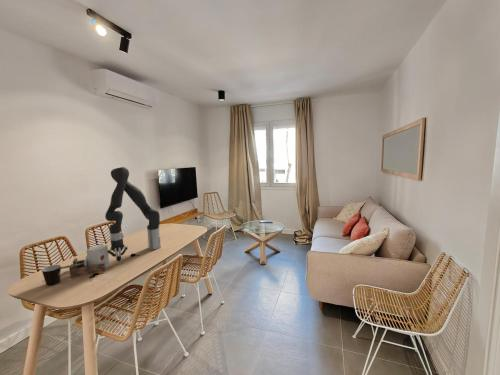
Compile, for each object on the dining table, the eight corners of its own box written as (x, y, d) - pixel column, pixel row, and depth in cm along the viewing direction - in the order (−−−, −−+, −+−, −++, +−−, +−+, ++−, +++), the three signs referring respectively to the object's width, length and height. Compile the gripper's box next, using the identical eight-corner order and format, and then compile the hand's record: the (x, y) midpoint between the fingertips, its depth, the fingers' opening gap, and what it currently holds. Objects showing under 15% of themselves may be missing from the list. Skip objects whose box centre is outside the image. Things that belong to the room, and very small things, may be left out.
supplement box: (100, 271, 149) (98, 250, 147) (88, 270, 150) (85, 249, 148) (109, 264, 158) (107, 244, 156) (98, 264, 159) (95, 244, 157)
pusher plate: (90, 265, 156) (88, 255, 154) (87, 272, 146) (86, 261, 145) (58, 272, 147) (56, 260, 146) (53, 279, 138) (51, 267, 137)
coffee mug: (51, 279, 139) (49, 264, 137) (66, 279, 139) (64, 264, 138) (35, 290, 127) (33, 274, 126) (51, 289, 128) (49, 273, 127)
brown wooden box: (106, 262, 162) (106, 253, 161) (104, 271, 149) (103, 261, 148) (75, 268, 153) (74, 258, 153) (70, 278, 140) (69, 267, 139)
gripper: (127, 234, 163) (129, 256, 166) (106, 238, 157) (108, 260, 160) (127, 238, 157) (129, 260, 159) (105, 241, 151) (107, 265, 153)
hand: (119, 260), depth 160 cm, fingers closed
